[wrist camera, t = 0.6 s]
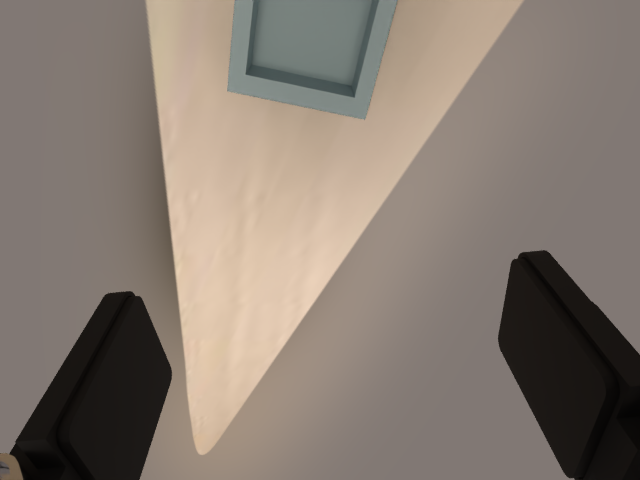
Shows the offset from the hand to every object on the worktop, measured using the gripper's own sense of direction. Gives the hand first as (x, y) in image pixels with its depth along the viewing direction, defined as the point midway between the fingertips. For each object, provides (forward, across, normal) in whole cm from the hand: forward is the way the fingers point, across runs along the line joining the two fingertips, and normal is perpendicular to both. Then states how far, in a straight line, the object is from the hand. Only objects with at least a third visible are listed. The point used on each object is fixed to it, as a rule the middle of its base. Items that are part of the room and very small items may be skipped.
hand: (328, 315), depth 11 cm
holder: (+30, -1, -4) cm, 31 cm away
